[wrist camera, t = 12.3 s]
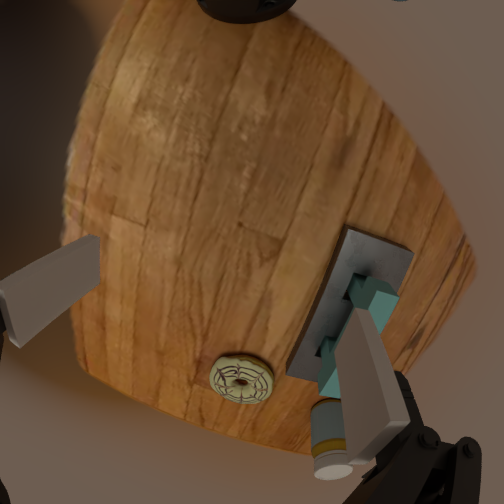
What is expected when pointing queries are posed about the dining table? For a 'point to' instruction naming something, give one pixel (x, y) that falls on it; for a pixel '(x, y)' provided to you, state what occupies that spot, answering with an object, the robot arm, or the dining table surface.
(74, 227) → the dining table surface
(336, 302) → the slotted metal plate
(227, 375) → the decorated donut
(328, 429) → the bottle
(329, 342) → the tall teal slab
